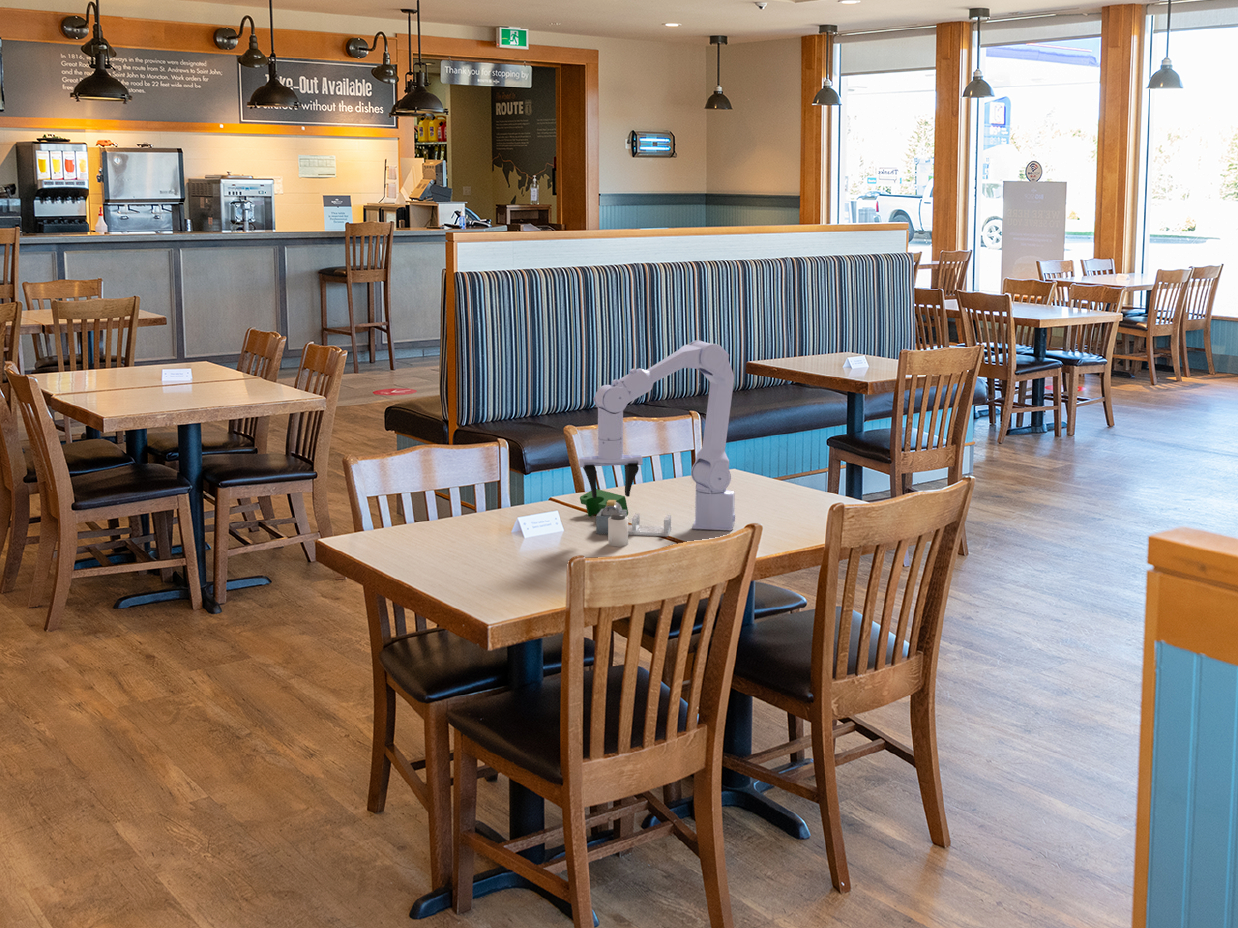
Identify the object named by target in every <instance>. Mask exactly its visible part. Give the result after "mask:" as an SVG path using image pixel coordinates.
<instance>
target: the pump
mask: <svg viewBox="0 0 1238 928" xmlns="http://www.w3.org/2000/svg"><path fill="white" fill-rule="evenodd" d="M628 525H629V517H628V516H627V517H625V514H623V513H614V514H611V517H609V518H608V535H607V536H608V537H607V538H608V539H607V541H608V542H607V543H608V546H611V547H619V548H620V547H626V546H628V545H629V535H628Z"/></svg>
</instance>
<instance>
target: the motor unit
mask: <svg viewBox="0 0 1238 928" xmlns="http://www.w3.org/2000/svg"><path fill="white" fill-rule="evenodd" d="M614 513H623V514H625V517H628V515H627V510H623V509H622V507H621V505H620V504H619V503H618V502H616V500H608V501H607V505H606V507H605V508H604V509H601V510H600V512H599V513H598V514H595V515H596V516H595V522H596V523H595V525H596V528H595V529H596V530H595V531H596V533H595V534H596V535H607V536H608V518H609V517H611V514H614ZM671 531H672V515H671V514H666V516H665V517H664V519H663V525H641V524H640V513H635V514H633V516H632V518H631V524H628V536H645V537H646V536H649V537H650V536H651V537H669V535H670V533H671Z"/></svg>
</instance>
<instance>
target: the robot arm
mask: <svg viewBox="0 0 1238 928" xmlns="http://www.w3.org/2000/svg"><path fill="white" fill-rule="evenodd" d="M729 358H730V354H729V353H728V352H727V351H726V350H725V349H724V347H722V345H720V344H716V343H710V342H705V341H702V340H701V339H699V340H698V339H697V340H693V341H691V342H690V343H688V344H684V345H682V346H681V347H680V348H679V349H677V350H676V351H675V352H673V353H671V354H670V355H668V356H666V357H665V358H663V359H662V360H660V361H658V362H657V363H655V364H654V365H652V366H651V367H649V368H647V369H643V368H640V367H639V368H637V369H636V368H631V369H629V370H628V372H629V373H628V374H626V375H624V376H622V377H621V378H618V379H616V378H615V379H613V380H611V384H603V385H602V386H600V387H599V388H598V389H597V391H596V392H595V394H594V396H593V402H594V404H595V406H596V407H597V452H598V453H597V454H598V455H591V456H585V457H584V456H583V457H581V456H580V457H578V467H579V468H582V469H583V471H584V473H585V475H586V479H587V480H588V483H589V486H590V491H592V497H593V498H596V497H597V492H596V489H597V470H596V467H605V466H606V467H607V466H624V479H625V480H624V481H625V483H624V496H625V498H626V497H627V498H628V497H630V496H631V490H632V489H631V488H632V486H633V483H634V480H635V478H636V476H637V474H638V472H639V466H643V464H644V463H643V459H644V457H643V456H642V454H641V455H640V454H639V455H637V454H633V455H632V454H631V455H630V454H624V411H625V409H626V407H627V405H628V404H629V403H631V402H632V401H635V400H636V399H639V397H641V396H643V395H646V394H647V393H649V392H650V391H652V389H653V386H654V383H656V382H658V381H660V380H662V379H663V378H666V377H668V376H670V375H672V374H674V373H676V372H678V371H679V370H682V369H696V370H697V371H699V372H701V374H703V376H704V377H705V378H706V379H707V380H708V381H709V392H708V400H707V407H706V417H705V423H704V429H703V430H704V431H703V439H702V447H701V449H700V450H699V451H698V452H697V453H696V458H695V462H694V464H692V467H691V470H690V475H691V478H692V480H693V481H694V482H695V502H694V503H695V505H694V506H695V507H694V508H695V511H694V512H695V515H694V521H693V524H692V526H691V529H692V530H708V531H709V530H710V531H711V530H713V531H732V530H733V529H734V528H733V527H734V525H735V522H736V514H735V511H736V510H735V509H736V508H735V502H736V501H735V500H736V498H735V497H736V496H735V495H736V493H735V491H734V490H729V489H727V488H728V487H729V486H730V484H731V481H732V474H731V471H730V459H729V457H728V455H727V453H726V444H727V437H728V429H729V421H730V415H731V407H732V398H733V391H734V381H735V374H734V372H733V369H732V365H731V364H730V361H729Z"/></svg>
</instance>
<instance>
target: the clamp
mask: <svg viewBox="0 0 1238 928" xmlns="http://www.w3.org/2000/svg"><path fill="white" fill-rule="evenodd" d="M596 492H597V497H596V498H593V497H592V491H591V490H590V491H588V492H586V493H584V494H582V495H580V497H579V500H580V504H581V505H585V507H586V511H587V516H588V517H590V518H591V517H593V516H595V515H597V514H598V513H599V512H600V510H601V509H604V508H605V507H606V505H607V501H608V500H616V502H618V503H619V504H620V505H621V507H622V509H623V510H627V516H628V515H629V509H628V508H629V507H628V503H627V500H626V495H622V494H618V493H613V492H609V491H606V490H602V489H600V488H599V489H598V488H596Z"/></svg>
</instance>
